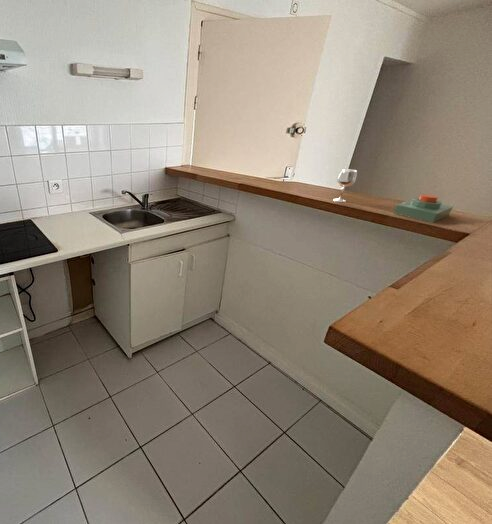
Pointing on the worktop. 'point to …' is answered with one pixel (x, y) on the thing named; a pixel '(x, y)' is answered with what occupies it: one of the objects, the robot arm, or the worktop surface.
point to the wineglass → (346, 181)
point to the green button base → (423, 210)
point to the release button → (428, 198)
